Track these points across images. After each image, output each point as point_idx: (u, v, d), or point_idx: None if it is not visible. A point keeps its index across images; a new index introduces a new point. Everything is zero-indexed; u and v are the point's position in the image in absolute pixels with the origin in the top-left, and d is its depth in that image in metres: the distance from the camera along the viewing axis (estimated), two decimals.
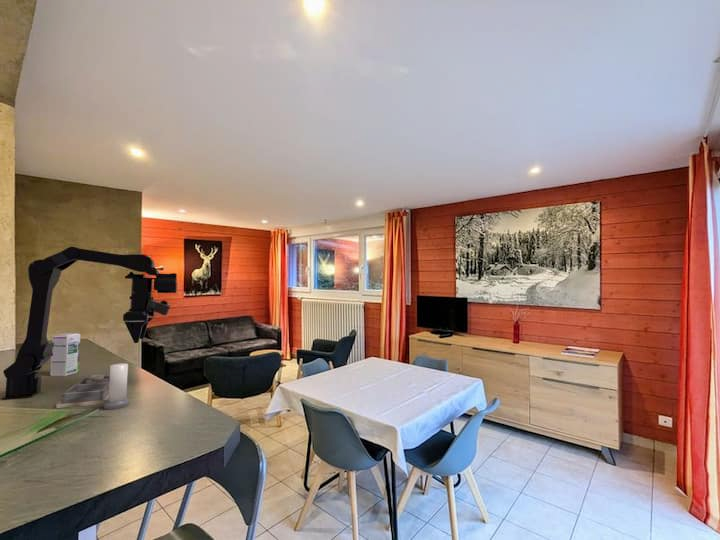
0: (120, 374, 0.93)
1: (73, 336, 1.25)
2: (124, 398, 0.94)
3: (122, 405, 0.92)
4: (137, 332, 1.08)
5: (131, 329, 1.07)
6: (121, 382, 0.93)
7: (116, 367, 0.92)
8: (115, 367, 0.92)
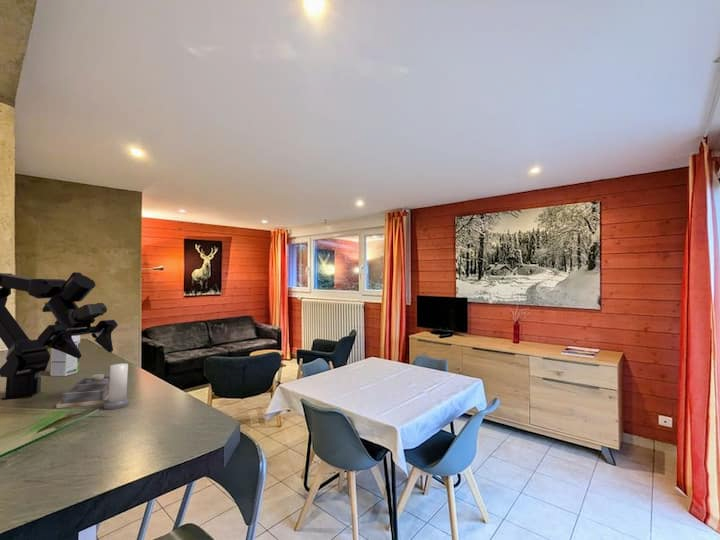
0: (120, 374, 0.93)
1: (73, 336, 1.25)
2: (124, 398, 0.94)
3: (122, 405, 0.92)
4: (69, 347, 0.91)
5: (62, 348, 0.91)
6: (121, 382, 0.93)
7: (116, 367, 0.92)
8: (115, 367, 0.92)
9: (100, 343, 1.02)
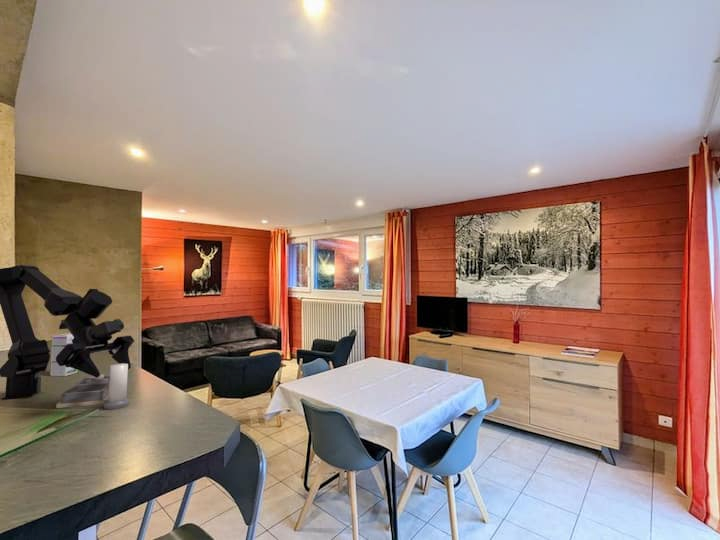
0: (120, 374, 0.93)
1: None
2: (124, 398, 0.94)
3: (122, 405, 0.92)
4: (88, 366, 0.89)
5: (81, 367, 0.89)
6: (121, 382, 0.93)
7: (116, 367, 0.92)
8: (115, 367, 0.92)
9: (117, 360, 1.00)
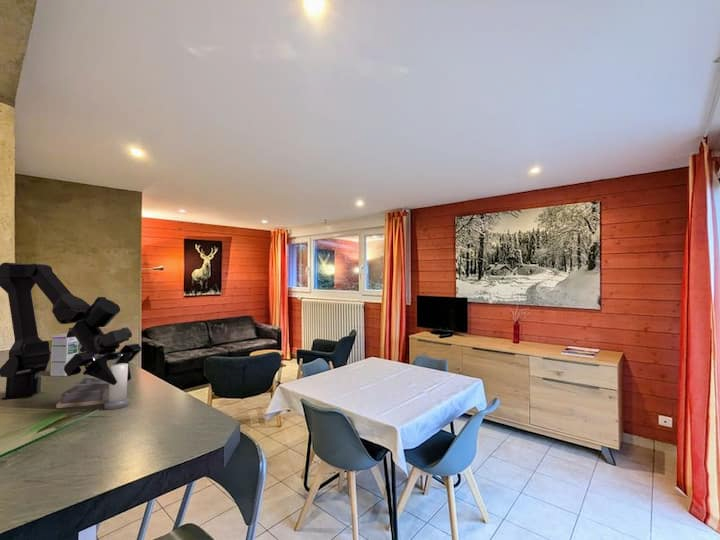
0: (120, 374, 0.93)
1: None
2: (124, 398, 0.94)
3: (122, 405, 0.92)
4: (105, 374, 0.91)
5: (98, 375, 0.91)
6: (121, 382, 0.93)
7: (116, 367, 0.92)
8: (115, 367, 0.92)
9: None
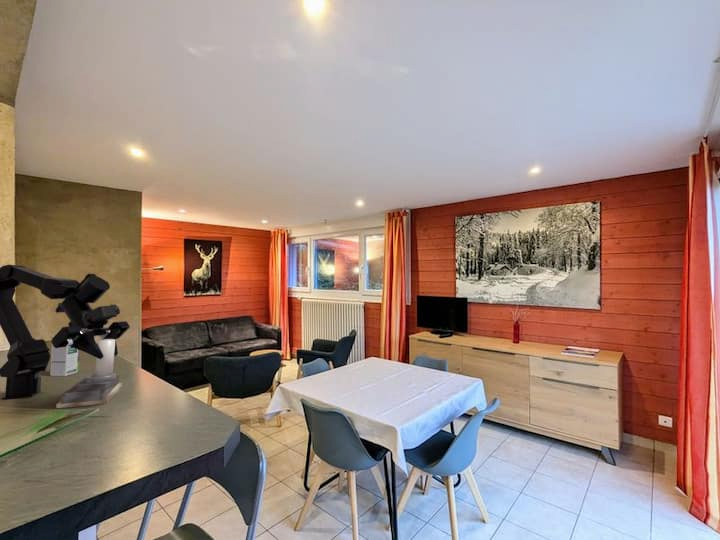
0: (107, 349, 0.95)
1: None
2: (110, 372, 0.96)
3: (108, 379, 0.94)
4: (92, 348, 0.93)
5: (85, 349, 0.93)
6: (107, 357, 0.95)
7: (103, 341, 0.94)
8: (102, 342, 0.94)
9: None
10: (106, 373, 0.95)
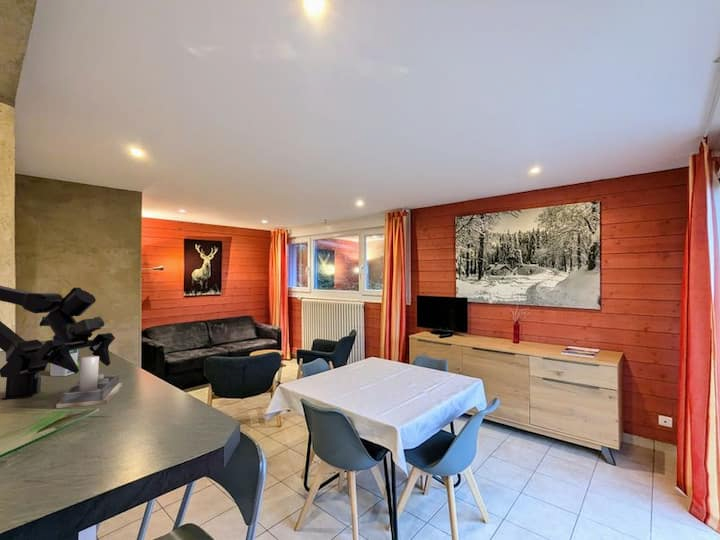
0: (90, 366, 0.97)
1: None
2: (95, 389, 0.98)
3: None
4: (67, 362, 0.93)
5: (60, 363, 0.93)
6: (91, 374, 0.97)
7: (86, 359, 0.96)
8: (86, 359, 0.96)
9: None
10: (90, 390, 0.97)
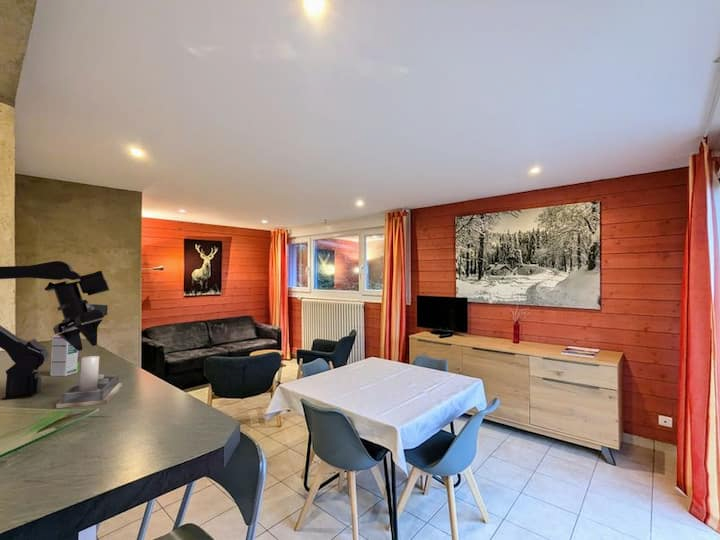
0: (91, 366, 0.97)
1: None
2: (95, 389, 0.98)
3: None
4: (94, 333, 1.05)
5: (87, 332, 1.03)
6: (92, 374, 0.97)
7: (87, 359, 0.96)
8: (86, 359, 0.96)
9: (69, 338, 1.08)
10: (90, 390, 0.96)
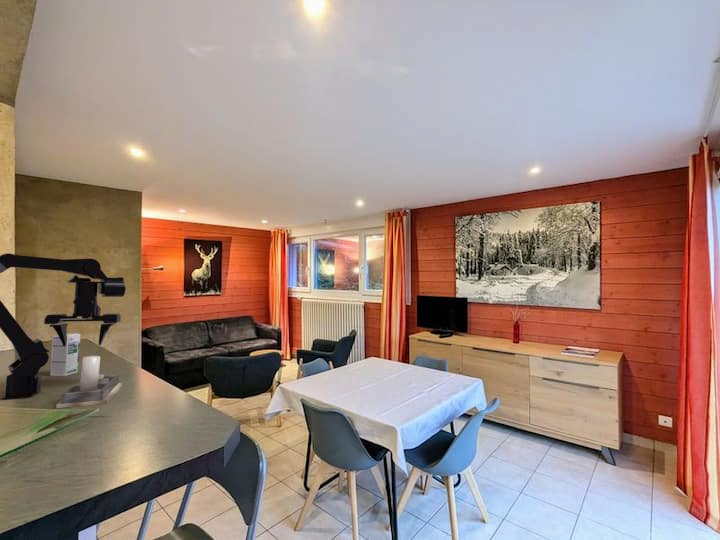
0: (92, 366, 0.97)
1: (73, 336, 1.25)
2: (95, 389, 0.98)
3: None
4: (105, 334, 1.14)
5: (105, 331, 1.13)
6: (92, 374, 0.97)
7: (88, 359, 0.96)
8: (87, 359, 0.96)
9: (63, 332, 1.08)
10: (91, 390, 0.97)
